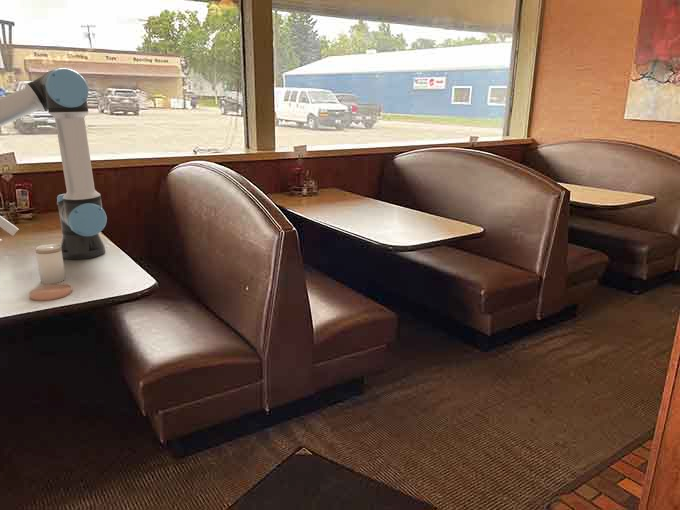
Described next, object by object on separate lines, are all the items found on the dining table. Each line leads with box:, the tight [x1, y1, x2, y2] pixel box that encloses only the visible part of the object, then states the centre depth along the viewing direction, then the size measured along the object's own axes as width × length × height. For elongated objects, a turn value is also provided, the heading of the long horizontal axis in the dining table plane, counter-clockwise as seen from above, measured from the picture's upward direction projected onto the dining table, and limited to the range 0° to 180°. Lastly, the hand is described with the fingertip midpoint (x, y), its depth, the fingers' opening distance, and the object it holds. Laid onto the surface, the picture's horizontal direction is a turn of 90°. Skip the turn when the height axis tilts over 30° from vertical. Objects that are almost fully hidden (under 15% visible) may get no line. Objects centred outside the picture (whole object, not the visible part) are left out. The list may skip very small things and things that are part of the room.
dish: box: [28, 283, 73, 302], centre depth 153 cm, size 11×11×1 cm
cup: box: [35, 243, 67, 285], centre depth 164 cm, size 7×7×11 cm
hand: (7, 237), depth 159 cm, fingers open, 13 cm apart
